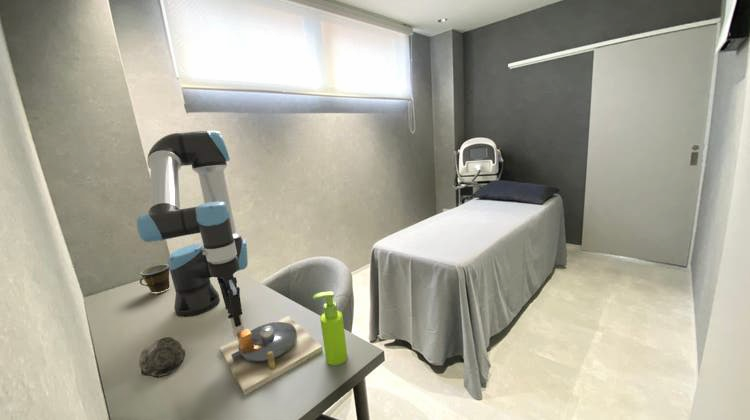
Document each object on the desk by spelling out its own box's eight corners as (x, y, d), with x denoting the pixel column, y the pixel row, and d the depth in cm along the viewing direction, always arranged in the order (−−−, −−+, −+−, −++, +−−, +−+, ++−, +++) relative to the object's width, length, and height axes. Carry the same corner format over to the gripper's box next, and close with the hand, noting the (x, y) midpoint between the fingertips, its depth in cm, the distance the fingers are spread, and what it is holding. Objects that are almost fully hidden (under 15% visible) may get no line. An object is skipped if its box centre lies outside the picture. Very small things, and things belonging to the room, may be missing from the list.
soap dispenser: (323, 352, 90) (314, 289, 85) (347, 349, 91) (339, 286, 86) (321, 367, 85) (311, 300, 80) (347, 363, 85) (339, 297, 80)
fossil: (165, 383, 83) (140, 354, 81) (144, 393, 86) (120, 365, 84) (195, 353, 93) (173, 326, 92) (175, 363, 96) (154, 337, 94)
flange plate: (283, 319, 103) (280, 302, 101) (306, 342, 91) (303, 322, 89) (224, 346, 92) (220, 327, 90) (242, 376, 80) (238, 355, 78)
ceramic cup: (159, 284, 142) (153, 264, 139) (179, 284, 141) (174, 264, 138) (134, 300, 130) (128, 278, 127) (156, 300, 128) (150, 278, 126)
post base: (220, 351, 94) (216, 334, 93) (289, 319, 107) (286, 304, 106) (244, 395, 78) (240, 374, 76) (322, 350, 91) (319, 332, 89)
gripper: (201, 256, 89) (219, 329, 95) (213, 270, 79) (232, 350, 85) (229, 248, 93) (244, 319, 99) (244, 260, 83) (259, 337, 89)
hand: (238, 333), depth 92 cm, fingers closed
